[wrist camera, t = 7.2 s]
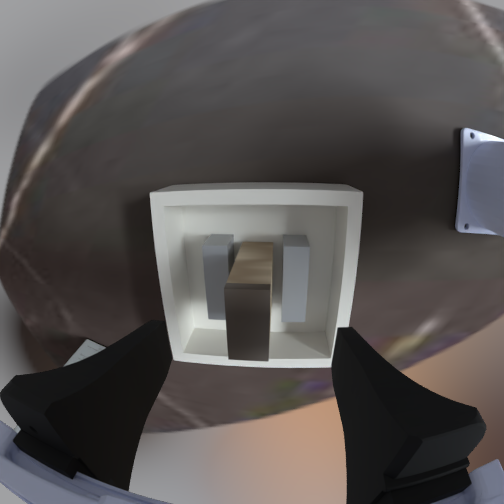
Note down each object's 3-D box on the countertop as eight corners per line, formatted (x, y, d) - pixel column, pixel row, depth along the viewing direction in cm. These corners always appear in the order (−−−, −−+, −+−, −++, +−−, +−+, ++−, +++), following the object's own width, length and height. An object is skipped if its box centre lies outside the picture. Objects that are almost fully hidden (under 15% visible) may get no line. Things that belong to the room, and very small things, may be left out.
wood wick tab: (273, 242, 19) (270, 289, 12) (272, 296, 20) (268, 361, 14) (242, 241, 19) (223, 288, 12) (243, 295, 20) (228, 359, 14)
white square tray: (346, 184, 18) (363, 192, 14) (332, 334, 22) (340, 366, 18) (173, 184, 19) (149, 192, 15) (188, 329, 23) (174, 360, 19)
